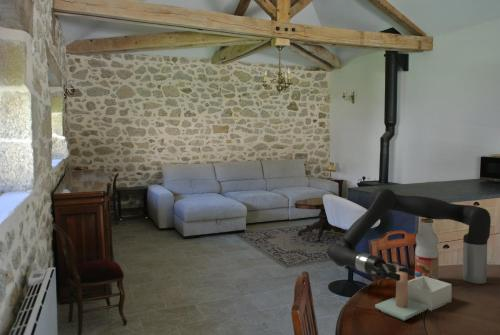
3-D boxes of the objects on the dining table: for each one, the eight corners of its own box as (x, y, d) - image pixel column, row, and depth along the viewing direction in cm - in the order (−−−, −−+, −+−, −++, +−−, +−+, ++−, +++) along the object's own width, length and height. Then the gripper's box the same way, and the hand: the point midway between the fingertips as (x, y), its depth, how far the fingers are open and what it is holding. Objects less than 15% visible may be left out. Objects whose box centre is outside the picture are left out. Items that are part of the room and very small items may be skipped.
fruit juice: (442, 285, 167) (443, 221, 165) (420, 285, 167) (421, 221, 165) (431, 277, 176) (432, 217, 175) (411, 278, 176) (411, 217, 175)
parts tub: (422, 292, 159) (422, 275, 159) (451, 301, 149) (451, 284, 149) (402, 300, 151) (402, 283, 151) (431, 311, 141) (431, 292, 141)
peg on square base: (398, 301, 151) (398, 265, 150) (428, 312, 140) (429, 273, 140) (375, 311, 142) (375, 272, 142) (405, 323, 132) (405, 282, 131)
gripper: (357, 258, 148) (395, 269, 135) (381, 252, 156) (418, 261, 143) (357, 277, 148) (394, 290, 135) (381, 270, 157) (418, 281, 143)
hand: (406, 275), depth 139 cm, fingers open, 8 cm apart
